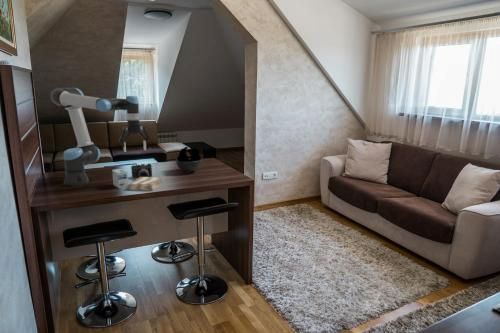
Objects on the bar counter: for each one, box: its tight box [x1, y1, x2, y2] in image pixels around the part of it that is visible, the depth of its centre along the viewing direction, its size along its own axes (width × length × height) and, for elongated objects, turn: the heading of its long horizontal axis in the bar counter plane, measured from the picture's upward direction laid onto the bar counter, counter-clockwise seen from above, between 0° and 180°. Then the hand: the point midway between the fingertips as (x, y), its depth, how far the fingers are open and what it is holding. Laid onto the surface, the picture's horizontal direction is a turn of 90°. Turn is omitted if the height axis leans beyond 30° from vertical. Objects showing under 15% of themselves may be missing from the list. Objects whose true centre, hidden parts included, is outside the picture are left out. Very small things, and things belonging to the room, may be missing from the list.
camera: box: [130, 163, 153, 179], centre depth 246 cm, size 14×11×10 cm
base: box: [128, 176, 163, 192], centre depth 228 cm, size 16×18×4 cm
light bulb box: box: [111, 168, 129, 189], centre depth 227 cm, size 11×7×11 cm, turn 41°
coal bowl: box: [175, 146, 203, 173], centre depth 264 cm, size 20×20×19 cm
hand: (135, 150), depth 231 cm, fingers open, 13 cm apart
